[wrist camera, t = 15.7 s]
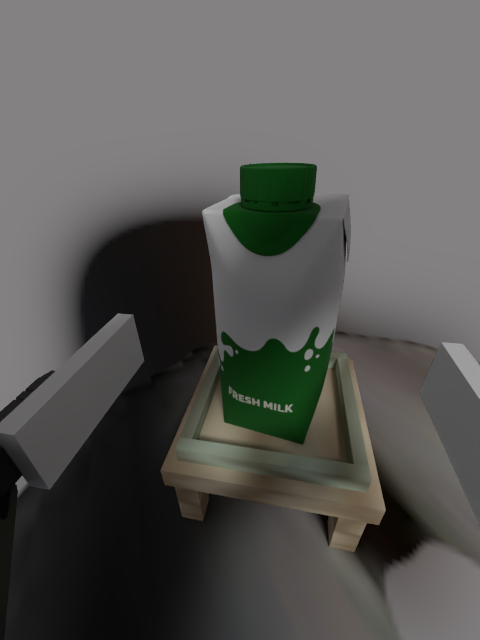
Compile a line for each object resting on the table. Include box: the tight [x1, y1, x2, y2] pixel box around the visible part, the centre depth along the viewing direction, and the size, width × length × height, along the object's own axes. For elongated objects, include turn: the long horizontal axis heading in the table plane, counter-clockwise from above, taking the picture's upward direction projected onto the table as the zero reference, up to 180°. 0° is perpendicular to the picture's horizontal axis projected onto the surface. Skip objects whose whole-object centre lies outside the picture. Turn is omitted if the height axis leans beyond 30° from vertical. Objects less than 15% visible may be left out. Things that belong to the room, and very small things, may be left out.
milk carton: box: [202, 163, 351, 445], centre depth 22 cm, size 9×9×20 cm
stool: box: [161, 346, 386, 552], centre depth 29 cm, size 16×16×10 cm
